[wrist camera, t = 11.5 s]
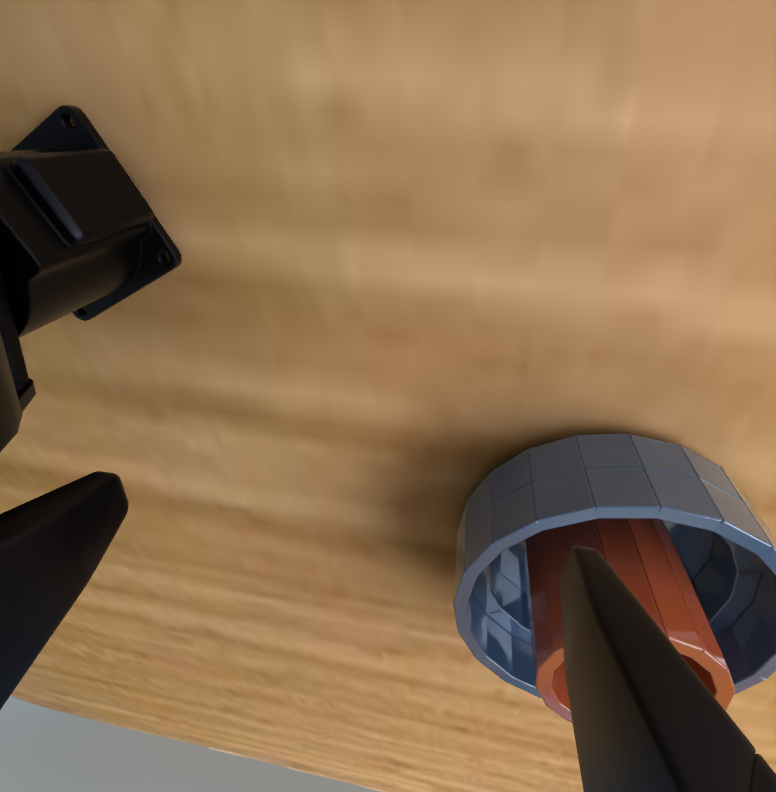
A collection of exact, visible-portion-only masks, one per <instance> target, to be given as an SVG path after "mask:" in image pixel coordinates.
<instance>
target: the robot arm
mask: <svg viewBox="0 0 776 792" xmlns="http://www.w3.org/2000/svg"><path fill="white" fill-rule="evenodd" d="M70 116H71V117H72V118H73V119H74V121H75V127H73V126H72V124H71V122H70ZM165 253H167V254H168V255H169V256H170V258H171V262H170V261H168V260H167V259H166V257H165ZM181 260H182V259H181V254H180V252H179V250H178V249H177V247H176V246H175V244H174V243H173V241H172V240H171V239H170V237H169V236H168V234H167V233H166V231H165V230H164V228H163V227H162V226H161V224H160V223H159V221H158V220H157V218H156V217H155V215H154V214H153V211H152V209H151V208H150V206H149V205H148V204H147V202H146V201H145V199H144V198H143V196H142V195H141V193H140V192H139V190H138V189H137V188H136V186H135V185H134V183H133V182H132V180H131V179H130V177H129V176H128V174H127V173H126V172H125V170H124V169H123V167H122V166H121V164H120V163H119V161H118V160H117V158H116V157H115V156H114V154H113V153H112V152H111V151H110V150H109V149H108V147H107V146H106V144H105V143H104V141H103V140H102V138H101V137H100V136H99V134H98V133H97V131H96V130H95V128H94V127H93V125H92V124H91V122H90V121H89V120H88V118H87V117H86V115H85V114H84V113H83V112H82V111H81V109H79V108H77V107H75V106H61V107H59V108H58V109H57V110H55V111H54V112H53V113H52V114H51V115H50V116H49V117H48V118H47V119H45V120H44V121H43V122H42V123H41V124H40V125H39V126H38V127H37V128H36V129H34V130H33V131H32V132H31V133H30V134H29V135H28V136H27V137H26V138H24V139H23V140H22V141H21V142H20V143H19V144H18V145H17V146H16V147H14V148H13V149H12V150H11V151H8V152H0V452H1V451H2V450H3V448H4V447H5V446H6V445H7V444H8V443H9V442H10V440H11V439H12V438H13V437H14V436H15V435H16V434H17V432H18V429H19V425H20V421H21V418H22V412H23V410H24V409H25V408H26V406H27V405H28V404H29V402H30V401H31V400H32V399H33V397H34V396H35V394H36V391H35V387H34V383H33V380H32V379H30V378H29V377H28V373H27V369H26V365H25V361H24V357H23V353H22V349H21V345H20V341H19V337H21V336H24V335H26V334H28V333H30V332H32V331H34V330H36V329H38V328H40V327H42V326H44V325H46V324H48V323H50V322H52V321H55V320H57V319H59V318H61V317H63V316H65V315H67V314H69V313H71V312H73V314H74V315H75V316H76V317H77V318H79V319H81V320H84V321H86V320H89V319H91V318H93V317H95V316H97V315H98V314H100V313H102V312H103V311H105V310H107V309H108V308H110V307H112V306H113V305H115V304H117V303H118V302H120V301H122V300H123V299H125V298H127V297H128V296H130V295H132V294H133V293H135V292H137V291H138V290H140V289H141V288H143V287H145V286H146V285H148V284H150V283H151V282H153V281H155V280H156V279H158V278H160V277H161V276H163V275H165V274H166V273H168V272H170V271H171V270H173V269H175V268H176V267H178V266H179V265H180V264H181ZM83 307H84V308H85V310H86V311H85V310H84V309H83ZM127 511H128V500H127V497H126V494H125V491H124V488H123V485H122V482H121V479H120V477H119V476H118V475H117V474H114V473H108V472H102V471H97V472H93V473H91V474H89V475H87V476H84V477H82V478H80V479H78V480H75V481H73V482H71V483H69V484H67V485H64V486H62V487H60V488H58V489H55V490H53V491H51V492H49V493H46V494H44V495H42V496H40V497H38V498H35V499H33V500H31V501H29V502H26V503H24V504H22V505H20V506H17V507H15V508H13V509H11V510H9V511H6V512H4V513H2V514H0V709H1V708H2V707H3V705H4V704H5V702H6V701H7V699H8V698H9V696H10V695H11V694H12V692H13V691H14V689H15V688H16V686H17V685H18V683H19V682H20V681H21V679H22V678H23V676H24V675H25V673H26V672H27V670H28V669H29V667H30V666H31V665H32V663H33V662H34V660H35V659H36V657H37V656H38V654H39V653H40V652H41V650H42V649H43V647H44V646H45V644H46V643H47V641H48V640H49V639H50V637H51V636H52V634H53V633H54V631H55V630H56V628H57V627H58V625H59V624H60V623H61V621H62V620H63V618H64V617H65V615H66V614H67V612H68V611H69V610H70V608H71V607H72V605H73V604H74V602H75V601H76V599H77V598H78V597H79V595H80V594H81V592H82V591H83V589H84V588H85V586H86V585H87V583H88V582H89V580H90V578H91V576H92V575H93V573H94V571H95V570H96V568H97V566H98V564H99V563H100V561H101V559H102V557H103V555H104V554H105V552H106V550H107V548H108V547H109V545H110V543H111V541H112V539H113V538H114V536H115V534H116V532H117V531H118V529H119V527H120V525H121V523H122V522H123V520H124V518H125V516H126V514H127ZM560 589H561V609H562V630H563V650H564V667H565V677H566V684H567V691H568V697H569V703H570V709H571V716H572V722H573V728H574V734H575V740H576V746H577V753H578V759H579V765H580V771H581V777H582V783H583V790H584V792H776V774H775V773H774V771H773V770H772V769H771V768H770V766H769V765H768V764H767V762H766V761H765V760H764V759H763V757H762V756H761V755H759V754H755V748H754V746H753V745H752V744H751V743H750V741H749V740H748V739H747V738H746V736H745V735H744V734H743V733H742V731H741V730H740V729H739V728H738V726H737V725H736V724H735V722H734V721H733V720H732V719H731V717H730V716H729V715H728V714H727V712H726V711H725V710H724V709H723V707H722V706H721V705H720V704H719V702H718V701H717V700H716V699H715V697H714V696H713V695H712V693H711V692H710V691H709V690H708V688H707V687H706V686H705V685H704V683H703V682H702V681H701V680H700V678H699V677H698V676H697V675H696V673H695V672H694V671H693V669H692V668H691V667H690V666H689V664H688V663H687V662H686V661H685V659H684V658H683V657H682V656H681V654H680V653H679V652H678V651H677V649H676V648H675V647H674V646H673V644H672V643H671V642H670V640H669V639H668V638H667V637H666V635H665V634H664V633H663V632H662V630H661V629H660V628H659V627H658V625H657V624H656V623H655V622H654V620H653V619H652V618H651V617H650V615H649V614H648V613H647V611H646V610H645V609H644V608H643V606H642V605H641V604H640V603H639V601H638V600H637V599H636V598H635V596H634V595H633V594H632V593H631V591H630V590H629V589H628V588H627V586H626V585H625V584H624V582H623V581H622V580H621V579H620V577H619V576H618V575H617V574H616V572H615V571H614V570H613V569H612V567H611V566H610V565H609V564H608V562H607V561H606V560H605V559H604V557H603V556H602V555H601V553H600V552H599V551H597V550H596V549H594V548H588V547H582V546H573V547H572V548H571V550H570V552H569V555H568V558H567V561H566V564H565V567H564V569H563V572H562V576H561V584H560Z"/></svg>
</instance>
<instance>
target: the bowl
mask: <svg viewBox="0 0 776 792" xmlns="http://www.w3.org/2000/svg"><path fill="white" fill-rule="evenodd" d="M594 519H660V520H662V521H663V522H664V524H665V526H666V528H667V530H668V531H669V533H670V535H671V538H672V540H673V542H674V544H675V547H676V549H677V551H678V554H679V556H680V558H681V560H682V563H683V565H684V567H685V570H686V572H687V574H688V577H689V579H690V581H691V583H692V586H693V588H694V590H695V593H696V595H697V597H698V600H699V602H700V604H701V606H702V609H703V611H704V613H705V616H706V618H707V620H708V622H709V625H710V627H711V629H712V632H713V634H714V636H715V639H716V641H717V643H718V645H719V648H720V650H721V652H722V655H723V657H724V659H725V662H726V664H727V666H728V668H729V671H730V674H731V677H732V680H733V684H734V687H735V694H737V693H739V692H741V691H743V690H745V689H747V688H750V687H752V686H754V685H756V684H758V683H760V682H762V681H764V680H765V679H767V678H768V677H770V676H771V675H772V674H773V673H774V672H775V671H776V539H775V538H774V536H773V535H772V534H771V532H770V531H769V529H768V528H767V526H766V525H765V523H764V522H763V520H762V519H761V517H760V516H759V514H758V513H757V511H756V510H755V508H754V507H753V505H752V504H751V502H750V501H749V499H748V498H747V497H746V495H745V494H744V493H743V492H742V491H741V489H740V488H739V487H738V486H737V485H736V484H735V482H734V481H733V480H732V479H731V478H730V477H729V475H728V474H727V473H726V472H725V471H724V470H723V468H722V467H720V466H718V465H716V464H715V463H713V462H711V461H709V460H707V459H705V458H703V457H702V456H700V455H698V454H696V453H694V452H692V451H690V450H689V449H687V448H685V447H683V446H681V445H678V444H675V443H670V442H665V441H661V440H656V439H651V438H646V437H642V436H637V435H632V434H629V435H628V433H620V434H593V435H576V436H571V437H568V438H564V439H561V440H557V441H554V442H550V443H547V444H543V445H540V446H536V447H533V448H529V449H527V450H525V451H523V452H522V453H520V454H519V455H517V456H515V457H514V458H512V459H510V460H509V461H507V462H505V463H504V464H502V465H500V466H499V467H497V468H496V469H494V470H492V471H491V473H489V475H488V476H487V477H486V478H485V479H484V480H483V482H482V483H481V484H480V485H479V486H478V488H477V489H476V490H475V491H474V492H473V493H472V495H471V496H470V497H469V498H468V500H467V502H466V505H465V508H464V512H463V515H462V518H461V521H460V524H459V528H458V539H457V554H456V569H455V584H454V599H453V604H454V610H455V616H456V623H457V629H458V632H459V634H460V635H461V637H462V638H463V640H464V641H465V643H466V644H467V646H468V647H469V649H470V650H471V652H472V653H473V655H474V656H475V658H477V660H478V661H480V662H481V663H482V664H483V665H485V666H486V667H487V668H488V669H490V670H491V671H492V672H494V673H495V674H496V675H497V676H499V677H500V678H501V679H502V680H504V681H506V682H507V683H509V684H512V685H514V686H516V687H518V688H520V689H522V690H524V691H527V692H529V693H531V694H533V695H535V696H537V697H539V698H541V696H540V694H539V693H538V691H537V689H536V686H535V677H534V665H533V653H532V642H531V630H530V618H529V607H528V595H527V583H526V572H525V560H524V554H525V549H524V540H525V539H527V538H529V537H531V536H533V535H535V534H537V533H539V532H541V531H544V530H548V529H553V528H557V527H562V526H566V525H571V524H576V523H580V522H585V521H589V520H594ZM735 694H734V695H735Z"/></svg>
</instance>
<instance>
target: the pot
mask: <svg viewBox="0 0 776 792" xmlns="http://www.w3.org/2000/svg"><path fill="white" fill-rule="evenodd" d="M573 546H582V547H588V548H594V549H596V550H597V551H599V552H600V553H601V555H602V556H603V557H604V559H605V560H606V561H607V562H608V564H609V565H610V566H611V567H612V569H613V570H614V571H615V572H616V574H617V575H618V576H619V577H620V579H621V580H622V581H623V582H624V584H625V585H626V586H627V588H628V589H629V590H630V591H631V593H632V594H633V595H634V596H635V598H636V599H637V600H638V601H639V603H640V604H641V605H642V606H643V608H644V609H645V610H646V611H647V613H648V614H649V615H650V617H651V618H652V619H653V620H654V622H655V623H656V624H657V625H658V627H659V628H660V629H661V630H662V632H663V633H664V634H665V635H666V637H667V638H668V639H669V640H670V642H671V643H672V644H673V646H674V647H675V648H676V649H677V651H678V652H679V653H680V654H681V656H682V657H683V658H684V659H685V661H686V662H687V663H688V664H689V666H690V667H691V668H692V669H693V671H694V672H695V673H696V675H697V676H698V677H699V678H700V680H701V681H702V682H703V683H704V685H705V686H706V687H707V688H708V690H709V691H710V692H711V693H712V695H713V696H714V697H715V699H716V700H717V701H718V702H719V704H720V705H721V706H722V707H723V709H724V710H725V711H726V710H727V708H728V706H729V704H730V702H731V700H732V698H733V696H734V694H735V687H734V684H733V680H732V677H731V674H730V671H729V668H728V666H727V664H726V662H725V659H724V657H723V655H722V652H721V650H720V648H719V645H718V643H717V641H716V639H715V636H714V634H713V632H712V629H711V627H710V625H709V622H708V620H707V618H706V616H705V613H704V611H703V609H702V606H701V604H700V602H699V600H698V597H697V595H696V593H695V590H694V588H693V586H692V583H691V581H690V579H689V577H688V574H687V572H686V570H685V567H684V565H683V563H682V560H681V558H680V556H679V554H678V551H677V549H676V547H675V544H674V542H673V540H672V538H671V535H670V533H669V531H668V530H667V528H666V526H665V524H664V522H663V521H662V520H660V519H594V520H589V521H585V522H580V523H576V524H571V525H566V526H562V527H557V528H553V529H548V530H544V531H541V532H539V533H537V534H535V535H533V536H531V537H529V538H527V539H525V540H524V549H525V554H524V560H525V572H526V583H527V595H528V607H529V618H530V630H531V642H532V653H533V665H534V677H535V686H536V689H537V691H538V693H539V694H540V696H541V698H542V699H543V701H544V702H545V704H546V706H548V708H550V709H551V710H553V711H554V712H556V713H557V714H559V715H560V716H561V717H563V718H564V719H566V720H567V721H570V722H572V716H571V709H570V703H569V697H568V691H567V684H566V677H565V667H564V650H563V630H562V609H561V589H560V584H561V576H562V572H563V569H564V567H565V564H566V561H567V558H568V555H569V552H570V550H571V548H572V547H573ZM572 723H573V722H572Z"/></svg>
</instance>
